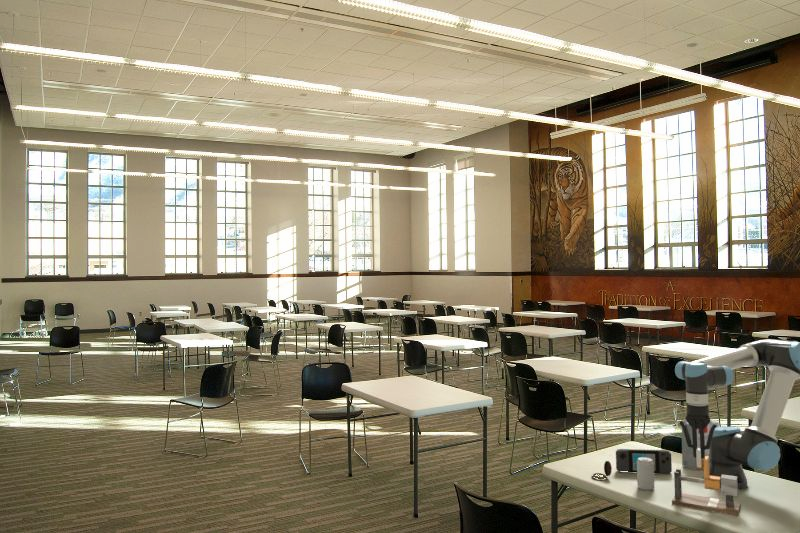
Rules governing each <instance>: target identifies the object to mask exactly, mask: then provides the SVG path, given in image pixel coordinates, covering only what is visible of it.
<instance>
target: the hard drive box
mask: <svg viewBox="0 0 800 533" xmlns="http://www.w3.org/2000/svg"><path fill="white" fill-rule="evenodd" d="M710 420H711V422H713V423H714V424H715V423H716V424H717V427H720V422H719V421H717V420H712V419H710ZM709 426H710V424H708V425H707V426H706V428H705V429H704V438H705V445H706V444H707V440H708V435H709V431H710V429H711V428H710V427H709ZM687 428H688V432H689V435H690V439H691V442H692V444H693V437H692V427H691V426H690V425H689V423H688V422H687ZM697 448H700V429H697ZM705 456H709V465H710V450H709V449H706V450H705ZM681 462H682V463H681V464H682V467H685V468H689V469H690V470H691V469H692V470H694V471H699V470H704V459H702V467H701V468H699V467H697V459H696V458H695V457H694V456H693V448H691V447H688V445H687V442H686V438H685V435H684V431H683V428H682V427H681Z"/></svg>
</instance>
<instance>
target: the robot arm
mask: <svg viewBox="0 0 800 533" xmlns="http://www.w3.org/2000/svg"><path fill="white" fill-rule="evenodd" d="M755 366H756V367H758V366H759V367H760V366H762V367H767V368H768V370H769V371H770V374H769V376H768V378H767V379H768V380H767V381H766V384H765V388H764V389H763V391H762V392H763V393H762V395H761V398H760V400H759V404H758V406H757V409H756V411H755V414H754V416H753V418H752V422H751V424H750V426H747V427H745V428H744V431H743V433H742V431H741V428H739V427H736V426H719V427H717V424H716V423H715V424H714V423H713V422H711V420H712V419H711V417H710V413H709V412H710V409H709V405H708V404H709V388H715V387H725V386H729V385H731V384H733V382H734V379H735V377H734V375H735V374H734V372H733V370H736V369H740V368H744V367H749V368H752V367H753V368H754V367H755ZM674 373H675V376H676V377H677V378H678V379H680V380H684V381H685V400H686V401H685V402H686V403H687V404H686V416H685V417H684V419H681V420H680V421H679V425H680V426H681V429H682V428H683V431H684V435H685V438H686V442H687V445H688V447H691V448H693V456H694V457H695V458H696V459H697V467H699V468H701V467H702V459H704V458H705V450H706V449H709V450H710V465H709V475H711V476H718V477H721V476H722V475H729V476H736V477H737V485H738V490H744V489H746V488H748V478H747V475H746V474H745V472H744V471H745V470H744V469H743V466H746V467H749V468H751V469H754V470H759V471H762V472H763V471H764V472H765V471H769V470H772V469H773V468H775V467H776V466H777V465H778V463H779V461H780V458H781V449H780V447H779V445H778V442H779V441H778V439H777V437H776V434H777V430H778V428H779V425H780V423H781V420H782V418H783V415H784V411H785V409H786V406H787V403H788V401H789V399H790V395H791V392H792V390H793V387H794V385H795V381H797V380H800V342H799V341H797V340H784V339H775V338H767V339H760V340H755V341H752V342H747V343H745V344H741V345H740V346H739V347H738V348H736V349H732V350H727V351H724V352H722V353H718V354H713V355H711V356H708V357H704V358H699V359H696V360H692V361H687V360H682V361H678V362H677V363H676V365H675V368H674ZM687 422H688V423H689V425H690V426H691V427H692V437H693V444H692V442H691V439H690V435H689V432H688V428H687ZM708 424H710V426H709V427H710V428H711V429H710V431H709V435H708V440H707V444H706V445H705V438H704V429H705V428H706V426H707V425H708ZM697 429H700V448H697Z"/></svg>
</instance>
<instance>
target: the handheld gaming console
mask: <svg viewBox="0 0 800 533" xmlns="http://www.w3.org/2000/svg"><path fill="white" fill-rule="evenodd" d="M640 457H646V458H651V459H652V460H653V463H654V473H660V475H670V474H671V473H672V472H673V471H672V454H671V452H670V451H669V450H666V449H631V448H630V449H628V448H620V449H617V450H615V469H616V471H617V472H618V471H628V472H637V460H638V458H640Z"/></svg>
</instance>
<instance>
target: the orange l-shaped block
mask: <svg viewBox="0 0 800 533" xmlns="http://www.w3.org/2000/svg"><path fill="white" fill-rule="evenodd" d="M703 479H704V482H705V484H704V489H705V490H713V491H716V492H717V491H718V492H719V491H720V492H721V486H720V482H721V477H718V476H711V475H709V456H705V458H704V469H703Z"/></svg>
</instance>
